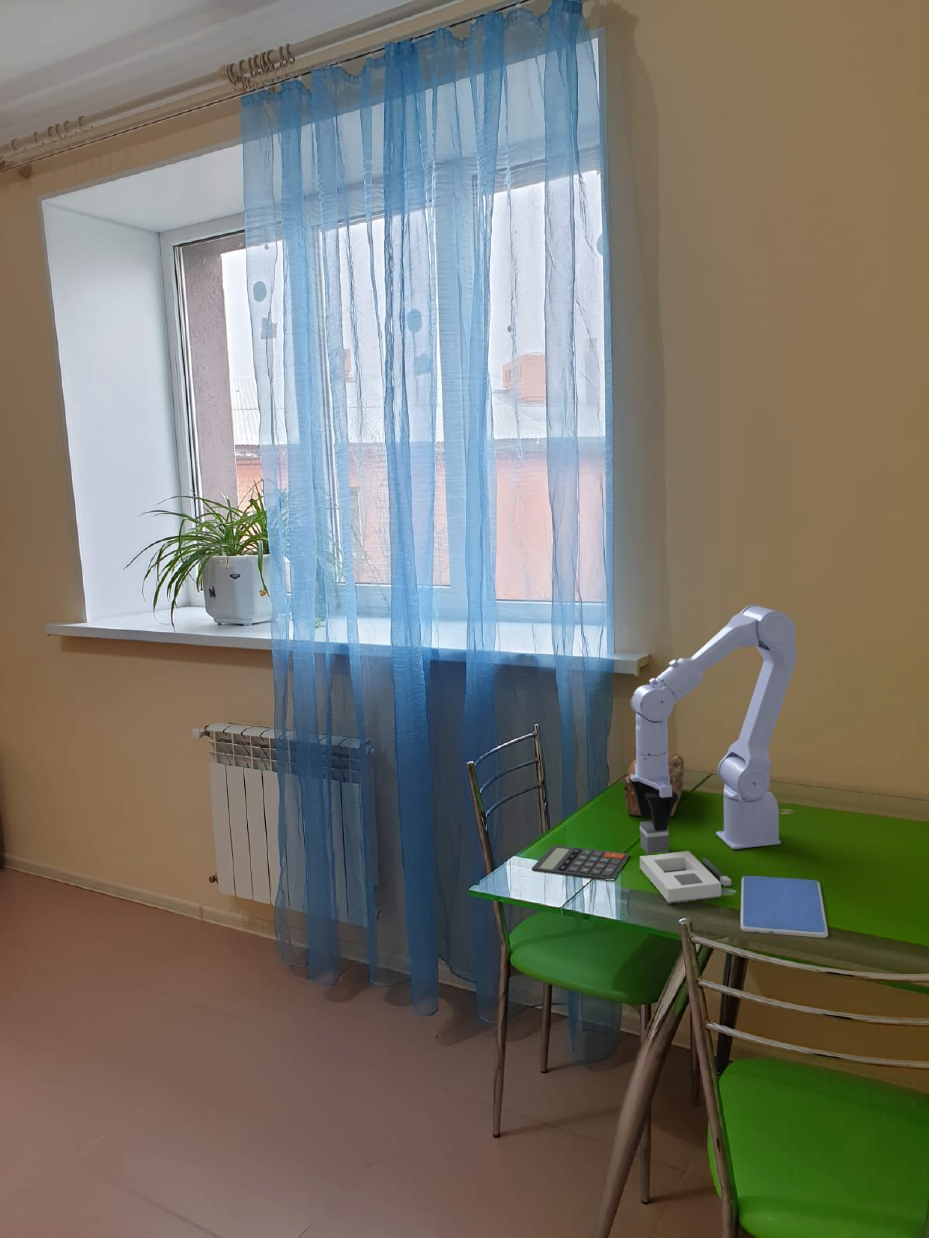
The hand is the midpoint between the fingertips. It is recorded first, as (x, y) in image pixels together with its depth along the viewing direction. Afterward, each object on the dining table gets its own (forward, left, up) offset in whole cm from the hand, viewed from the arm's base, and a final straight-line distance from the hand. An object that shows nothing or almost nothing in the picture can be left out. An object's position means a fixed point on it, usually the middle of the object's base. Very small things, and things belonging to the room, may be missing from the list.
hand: (653, 822), depth 176 cm
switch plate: (+1, +15, -5) cm, 16 cm away
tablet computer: (-12, +27, -6) cm, 30 cm away
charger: (0, 0, -5) cm, 5 cm away
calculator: (+14, +2, -6) cm, 16 cm away
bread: (-9, -24, -6) cm, 27 cm away
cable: (-7, +12, -5) cm, 15 cm away
